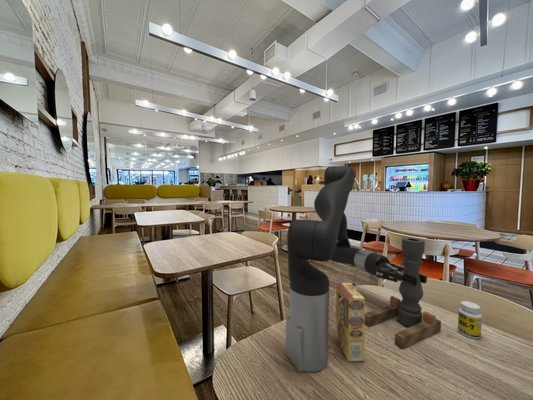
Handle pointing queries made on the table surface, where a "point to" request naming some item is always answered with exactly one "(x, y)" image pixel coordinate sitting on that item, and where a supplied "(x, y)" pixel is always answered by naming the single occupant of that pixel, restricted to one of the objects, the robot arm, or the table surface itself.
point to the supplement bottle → (470, 320)
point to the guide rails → (409, 334)
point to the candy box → (350, 321)
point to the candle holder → (410, 294)
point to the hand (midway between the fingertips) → (421, 281)
